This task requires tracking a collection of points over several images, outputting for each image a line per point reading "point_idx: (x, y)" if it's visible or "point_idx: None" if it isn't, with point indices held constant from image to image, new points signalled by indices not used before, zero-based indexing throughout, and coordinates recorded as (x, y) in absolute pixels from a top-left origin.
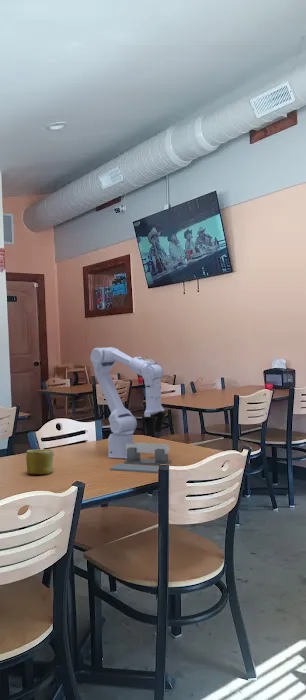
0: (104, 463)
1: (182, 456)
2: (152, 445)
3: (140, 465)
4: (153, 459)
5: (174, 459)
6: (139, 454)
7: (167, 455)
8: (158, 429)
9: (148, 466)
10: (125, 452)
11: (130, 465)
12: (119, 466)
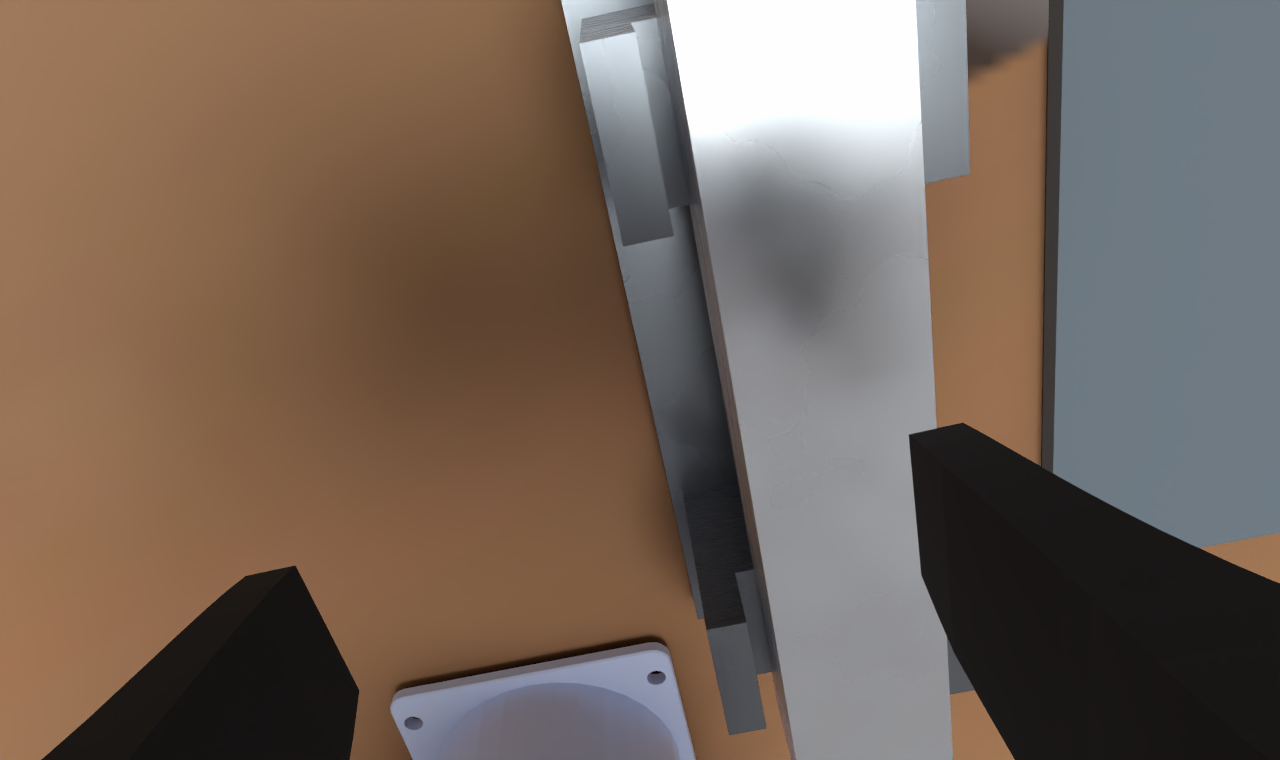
0: (979, 732)
1: (10, 21)
2: (924, 298)
3: (1080, 254)
4: (655, 288)
5: (319, 29)
6: (721, 530)
7: (595, 24)
8: (298, 665)
9: (1121, 92)
10: (651, 758)
11: (1111, 385)
12: (1197, 478)
